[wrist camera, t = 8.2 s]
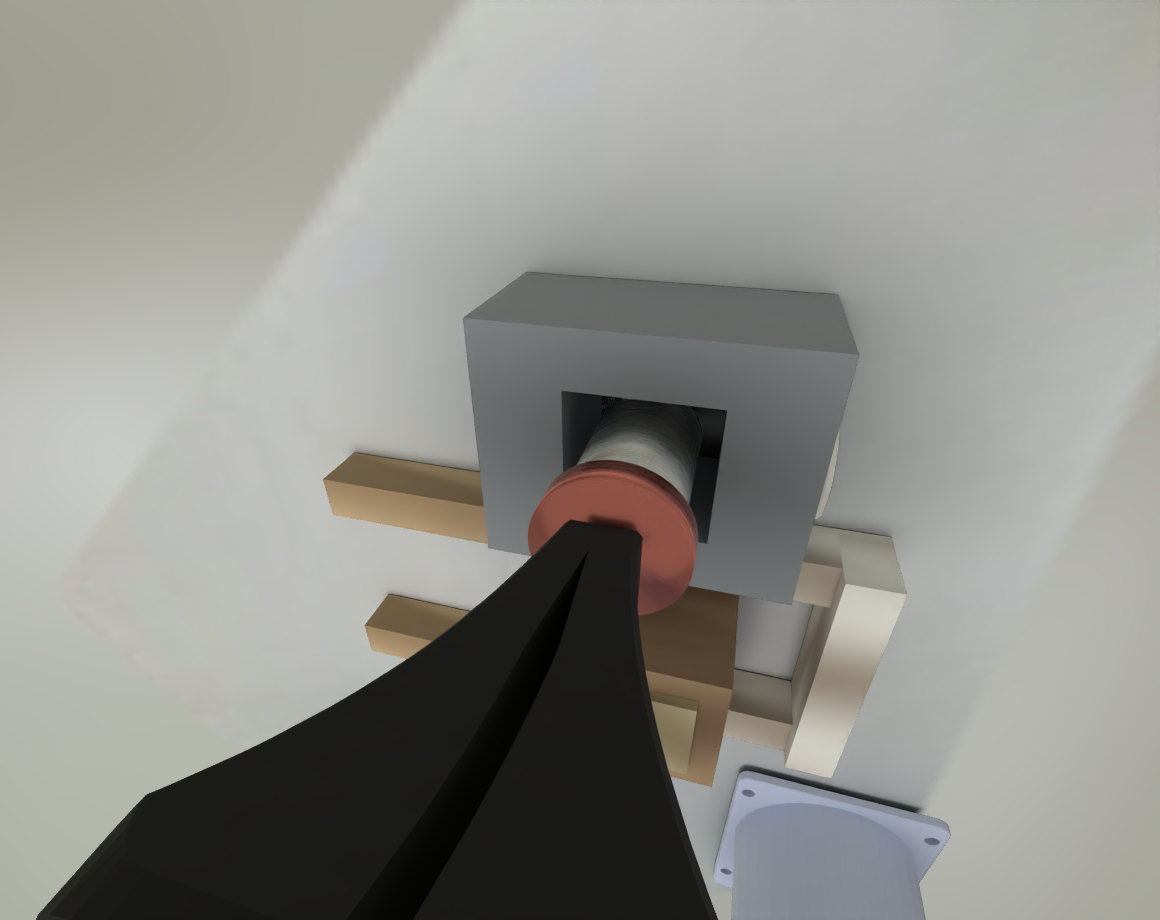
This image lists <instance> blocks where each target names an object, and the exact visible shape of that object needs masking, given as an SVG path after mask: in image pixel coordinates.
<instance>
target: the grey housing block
mask: <svg viewBox="0 0 1160 920" xmlns="http://www.w3.org/2000/svg"><path fill="white" fill-rule="evenodd" d="M463 323H464V332H465V341H466V350H467V359H468V368H469V377H470V386H471V395H472V404H473V413H474V422H475V431H476V441H477V450H478V459H479V468H480V477H481V486H482V495H483V504H484V513H485V522H486V531H487V540H488V548H491V549H496V550H502V551H507V552H512V553H517V554H523V555H528V556H531V554H530V550H529V545H528V528H529V523H530V520H531V518H532V515H533V514H534V512H535V510H536V508H537V506H538V505H539V503H540V501H541V499H542V498H543V496H544V494H545V492H546V491H547V489H548V487H549V486H550V484H551V483H552V482H553V481H554V479H555V478H556V477H558V476H559V475H560V474H561V473H563V472H564V471H566V470H567V469H569V468H571V467H573V466H576V465H577V463H578V461H579V460H580V458H581V456H582V454H583V452H584V450H585V448H586V446H587V444H588V442H589V440H590V438H591V437H592V435H593V433H594V431H595V429H596V427H597V425H598V423H599V421H600V419H601V417H602V395H603V396H611V397H619V398H628V399H636V400H645V401H653V402H662V403H670V404H678V405H687V406H695V407H704V408H712V409H720V410H726V415H725V422H724V428H723V435H722V442H721V448H720V455H719V459H715V458H708V457H701V456H698V461H697V466H696V472H695V477H694V482H693V487H692V492H691V497H690V502H689V505H690V507H691V509H692V511H693V513H694V516H695V519H696V522H697V527H698V544H697V551H696V557H695V563H694V569H693V574H692V578H691V581H690V583H689V585H688V586H692V587H698V588H703V589H708V590H714V591H719V592H724V593H729V594H735V595H740V596H745V597H751V598H756V599H761V600H767V601H772V602H777V603H782V604H788V605H792V601H793V597H794V594H795V590H796V586H797V583H798V579H799V575H800V572H801V568H802V564H803V561H804V557H805V553H806V549H807V546H808V542H809V538H810V535H811V531H812V527H813V524H814V520H815V519H818V518H819V517H820V516H821V515H822V513H823V511H824V509H825V506H826V504H827V501H828V498H829V494H830V490H831V487H832V482H833V478H834V473H835V467H836V461H837V454H838V446H839V433H840V424H841V420H842V417H843V413H844V409H845V406H846V402H847V398H848V395H849V391H850V387H851V383H852V380H853V376H854V372H855V369H856V365H857V361H858V358H859V353H858V350H857V347H856V344H855V341H854V339H853V336H852V333H851V330H850V327H849V324H848V322H847V319H846V316H845V313H844V310H843V307H842V305H841V302H840V299H839V296H838V295H835V294H821V293H807V292H794V291H780V290H766V289H752V288H738V287H724V286H710V285H696V284H682V283H668V282H654V281H640V280H626V279H612V278H598V277H584V276H570V275H556V274H542V273H528V272H526V273H525V274H523V275H522V276H520V277H519V278H518V279H516V280H515V281H513V282H512V283H511V284H509V285H508V286H507V287H505V288H504V289H502V290H501V291H500V292H498V293H497V294H495V295H494V296H493V297H491V298H490V299H489V300H487V301H486V302H484V303H483V304H482V305H480V306H479V307H478V308H476V309H475V310H473V311H472V312H471V313H469V314H468V315H466V316H465V317H464V318H463Z"/></svg>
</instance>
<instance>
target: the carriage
mask: <svg viewBox="0 0 1160 920" xmlns="http://www.w3.org/2000/svg"><path fill="white" fill-rule="evenodd" d="M738 597H739V595H735V594H729V593H724V592H719V591H714V590H708V589H703V588H698V587H692V586H688V587H687V589H686V590H685V592H684V593H683V594H682V595H681V596H680V597H679V598H678V599H677V600H676V601H675V602H674V603H672V604H671V605H669V606H667V607H666V608H664V609H662V610H659V611H657V612H654V613H650V614H646V615H640V616H638V617H639V629H640V637H641V645H642V652H643V658H644V664H645V670H646V676H647V681H648V687H649V692H650V697H651V702H652V706H653V711H654V715H655V719H656V724H657V728H658V732H659V736H660V740H661V744H662V748H663V752H664V755H665V759H666V763H667V767H668V770H669V774H670V776H672V777H676V778H679V779H683V780H687V781H691V782H695V783H698V784H702V785H706V786H710V787H712V783H713V779H714V774H715V769H716V765H717V760H718V756H719V751H720V746H721V742H722V737H723V733H724V728H725V724H726V719H727V714H728V710H729V705H730V701H731V696H732V691H733V678H734V662H735V646H736V630H737V613H738Z"/></svg>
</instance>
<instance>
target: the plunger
mask: <svg viewBox="0 0 1160 920" xmlns="http://www.w3.org/2000/svg"><path fill="white" fill-rule="evenodd" d="M701 441H702V430H701V425H700V421H699V419H698V417H697V415H696V413H695V411H694V410H693V409H692V407H691V406H687V405H678V404H670V403H662V402H653V401H645V400H636V399H628V398H619V397H616V398H615V399H613V400H612V401H611V403H610V404H609V405H608V406H607V408H606V410H605V412H604V413H603V415H602V417H601V419H600V421H599V423H598V425H597V427H596V429H595V431H594V433H593V435H592V437H591V438H590V440H589V442H588V444H587V446H586V448H585V450H584V452H583V454H582V456H581V458H580V460H579V461H578V463H577V465H576V466H573V467H571V468H569V469H567V470H566V471H564V472H563V473H561V474H560V475H559V476H558V477H556V478H555V479H554V481H553V482H552V483H551V484H550V486H549V487H548V489H547V491H546V492H545V494H544V496H543V498H542V499H541V501H540V503H539V505H538V506H537V508H536V510H535V512H534V514H533V515H532V518H531V520H530V523H529V528H528V545H529V550H530V554H531V557H532V556H533V555H534V554H535V553H536V552H537V551H538V550H539V549H540V548H541V547H542V546H543V545H544V544H545V543H546V542H547V541H548V540H549V539H550V538H551V537H552V536H553V535H554V534H555V533H556V532H557V531H558V530H559V529H560V528H561V527H562V526H563V525H564V523H566V522H567V521H569V520H570V519H571V520H577V521H583V522H589V523H595V524H601V525H606V526H612V527H618V528H624V529H630V530H636V531H638V532H639V533H640V535H641V536H642V537H643V541H642V555H641V568H640V582H639V596H638V616H640V615H646V614H650V613H654V612H657V611H659V610H662V609H664V608H666V607H667V606H669V605H671V604H672V603H674V602H675V601H676V600H677V599H678V598H679V597H680V596H681V595H682V594H683V593H684V592H685V590H686V589H687V587H688V585H689V583H690V581H691V578H692V574H693V569H694V563H695V557H696V551H697V544H698V527H697V522H696V519H695V516H694V513H693V511H692V509H691V507H690V505H689V502H690V497H691V492H692V487H693V482H694V477H695V472H696V466H697V461H698V456H699V451H700V446H701Z"/></svg>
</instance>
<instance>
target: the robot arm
mask: <svg viewBox="0 0 1160 920" xmlns="http://www.w3.org/2000/svg"><path fill="white" fill-rule="evenodd" d="M642 541H643V537H642V536H641V535H640V533H639V532H638V531H636V530H630V529H624V528H618V527H612V526H606V525H601V524H595V523H589V522H583V521H577V520H571V519H570V520H569V521H567V522H566V523H564V525H563V526H562V527H561V528H560V529H559V530H558V531H557V532H556V533H555V534H554V535H553V536H552V537H551V538H550V539H549V540H548V541H547V542H546V543H545V544H544V545H543V546H542V547H541V548H540V549H539V550H538V551H537V552H536V553H535V554H534V555H533V556H532V557H531V558H530V559H529V560H528V561H527V562H526V563H525V564H524V565H523V566H522V567H520V568H519V569H518V570H517V571H516V572H515V573H514V574H513V575H512V576H511V577H510V578H508V579H507V580H506V581H505V582H504V583H503V584H502V585H501V586H500V587H499V588H497V589H496V590H495V591H494V592H493V593H492V594H491V595H490V596H488V597H487V598H486V599H485V600H484V601H482V602H481V603H480V604H479V605H478V606H476V607H475V608H474V609H473V610H471V611H470V612H469V613H468V614H467V615H465V616H464V617H463V618H462V619H460V620H459V621H458V622H457V623H456V624H454V625H453V626H452V627H450V628H449V629H448V630H447V631H445V632H444V633H443V634H441V635H440V636H439V637H437V638H436V639H435V640H433V641H432V642H430V643H429V644H428V645H426V646H425V647H424V648H422V649H421V650H419V651H418V652H416V653H415V654H414V655H412V656H411V657H409V658H408V659H406V660H405V661H403V662H402V663H400V664H399V665H397V666H396V667H394V668H393V669H391V670H390V671H388V672H386V673H385V674H383V675H382V676H380V677H379V678H377V679H375V680H374V681H372V682H371V683H369V684H368V685H366V686H364V687H363V688H361V689H360V690H358V691H356V692H355V693H353V694H351V695H350V696H348V697H346V698H345V699H343V700H341V701H339V702H338V703H336V704H334V705H332V706H331V707H329V708H327V709H325V710H323V711H321V712H319V713H318V714H316V715H314V716H312V717H310V718H308V719H306V720H304V721H303V722H301V723H299V724H297V725H295V726H293V727H291V728H289V729H288V730H286V731H284V732H282V733H280V734H278V735H276V736H274V737H272V738H270V739H269V740H267V741H265V742H263V743H261V744H259V745H257V746H254V747H252V748H250V749H248V750H246V751H244V752H242V753H240V754H238V755H236V756H233V757H231V758H229V759H227V760H224V761H222V762H220V763H218V764H216V765H213V766H211V767H209V768H207V769H204V770H202V771H200V772H198V773H195V774H193V775H191V776H188V777H186V778H184V779H182V780H180V781H177V782H175V783H173V784H171V785H169V786H166V787H164V788H161V789H159V790H156V791H154V792H152V793H149V794H147V795H146V796H145V797H144V798H143V799H142V800H141V801H140V802H139V803H138V804H137V805H136V806H135V807H134V808H133V809H132V810H131V811H130V812H129V813H128V814H127V816H126V817H125V818H124V819H123V820H122V821H121V822H120V823H119V824H118V825H117V826H116V828H115V829H114V830H113V831H112V832H111V833H110V834H109V835H108V836H107V838H106V839H105V840H104V841H103V842H102V843H101V844H100V845H99V847H98V848H97V849H96V850H95V851H94V852H93V853H92V854H91V856H90V857H89V858H88V859H87V860H86V861H85V862H84V864H83V865H82V866H81V867H80V868H79V869H78V870H77V871H76V873H75V874H74V875H73V876H72V877H71V878H70V879H69V880H68V882H67V883H66V884H65V885H64V886H63V887H62V888H61V890H60V891H59V892H58V893H57V894H56V895H55V896H54V898H53V899H52V900H51V901H50V902H49V903H48V904H47V905H46V906H45V908H44V909H43V910H42V911H41V912H40V913H39V914H38V916H37V918H36V920H718V918H717V915H716V913H715V910H714V908H713V905H712V902H711V899H710V897H709V894H708V891H707V888H706V885H705V883H704V880H703V877H702V874H701V871H700V868H699V865H698V862H697V860H696V857H695V854H694V851H693V848H692V845H691V842H690V839H689V836H688V833H687V829H686V826H685V823H684V820H683V816H682V813H681V810H680V807H679V803H678V800H677V797H676V793H675V790H674V787H673V784H672V780H671V777H670V774H669V770H668V767H667V763H666V759H665V755H664V752H663V748H662V744H661V740H660V736H659V732H658V728H657V724H656V719H655V715H654V711H653V706H652V702H651V697H650V692H649V687H648V681H647V676H646V670H645V664H644V658H643V652H642V645H641V637H640V629H639V617H638V596H639V582H640V568H641V555H642ZM950 836H951V834H950V830H949V826H948V825H947V824H946V823H945V822H944V821H942V820H940V819H936V818H933V817H929V816H925V815H921V814H917V813H913V812H909V811H905V810H901V809H897V808H893V807H889V806H886V805H882V804H878V803H874V802H870V801H866V800H862V799H858V798H854V797H850V796H846V795H842V794H838V793H834V792H831V791H827V790H823V789H819V788H815V787H811V786H807V785H803V784H799V783H795V782H791V781H787V780H783V779H779V778H776V777H772V776H768V775H764V774H760V773H756V772H752V771H743V772H741V773H739V775H738V778H737V782H736V786H735V789H734V793H733V797H732V801H731V805H730V809H729V813H728V816H727V820H726V824H725V828H724V832H723V836H722V840H721V843H720V847H719V851H718V855H717V859H716V863H715V867H714V871H713V879H714V880H715V882H717V883H718V884H720V885H723V886H726V887H730V888H733V889H732V911H731V920H926V919H925V913H924V908H923V903H922V898H921V893H920V887H919V883H920V881H921V880H922V878H923V877H924V875H925V874H926V872H927V871H928V869H929V868H930V866H931V865H932V863H933V862H934V861H935V859H936V858H937V856H938V855H939V853H940V852H941V850H942V849H943V847H944V846H945V844H946V843H947V841H948V840H949V838H950Z"/></svg>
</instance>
